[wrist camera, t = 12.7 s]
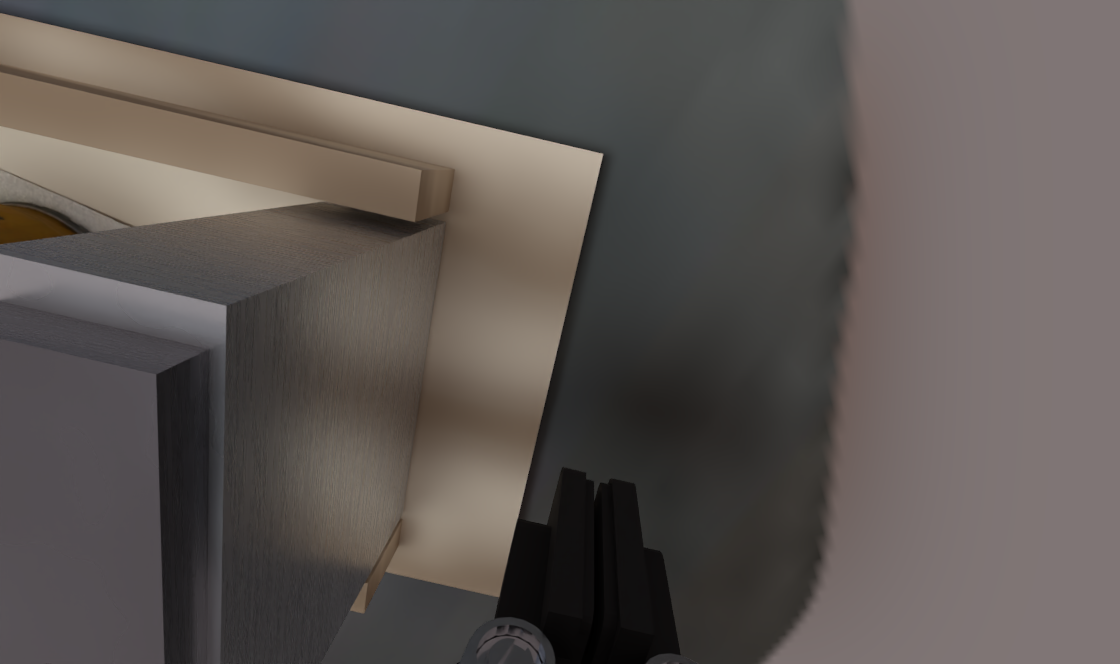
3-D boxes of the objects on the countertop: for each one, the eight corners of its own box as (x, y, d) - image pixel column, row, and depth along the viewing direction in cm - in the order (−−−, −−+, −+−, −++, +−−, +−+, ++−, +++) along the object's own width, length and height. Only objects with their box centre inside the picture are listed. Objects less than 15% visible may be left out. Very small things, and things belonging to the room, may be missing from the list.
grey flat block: (402, 513, 18) (183, 912, 9) (319, 495, 18) (3, 874, 9) (446, 221, 15) (174, 326, 5) (345, 198, 15) (-116, 259, 5)
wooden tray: (504, 573, 20) (483, 672, 16) (-96, 437, 20) (-264, 504, 16) (602, 154, 15) (605, 151, 12) (-191, -31, 15) (-469, -101, 11)
